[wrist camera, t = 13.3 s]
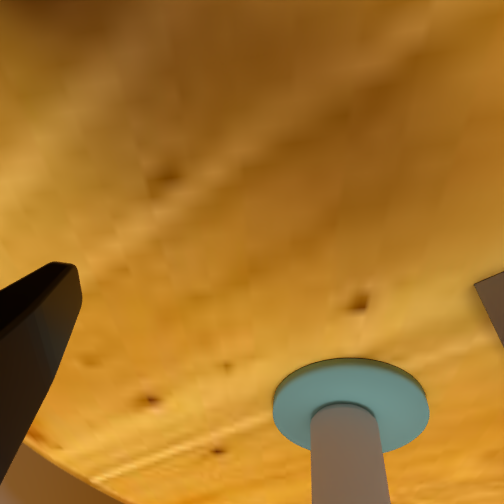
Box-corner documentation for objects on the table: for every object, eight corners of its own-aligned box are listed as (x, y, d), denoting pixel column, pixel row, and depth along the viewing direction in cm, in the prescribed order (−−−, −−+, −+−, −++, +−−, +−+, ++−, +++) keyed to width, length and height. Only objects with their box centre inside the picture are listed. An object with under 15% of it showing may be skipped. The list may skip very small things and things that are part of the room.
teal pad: (265, 434, 35) (264, 446, 34) (284, 348, 28) (284, 360, 28) (399, 452, 35) (401, 464, 34) (450, 369, 28) (454, 382, 28)
